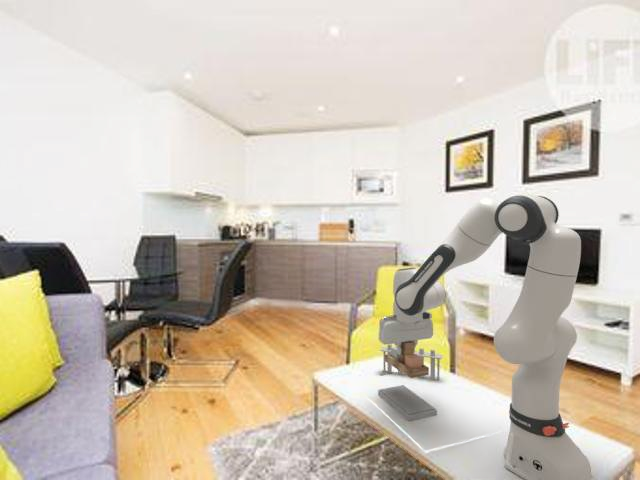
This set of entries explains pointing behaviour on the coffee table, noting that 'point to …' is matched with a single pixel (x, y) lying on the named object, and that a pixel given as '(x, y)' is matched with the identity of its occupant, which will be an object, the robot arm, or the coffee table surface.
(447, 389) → the coffee table surface
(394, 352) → the pale blue cube
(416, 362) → the block
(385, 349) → the test tube rack
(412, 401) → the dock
